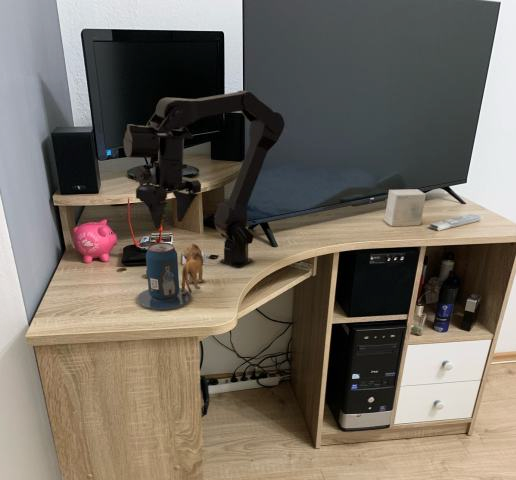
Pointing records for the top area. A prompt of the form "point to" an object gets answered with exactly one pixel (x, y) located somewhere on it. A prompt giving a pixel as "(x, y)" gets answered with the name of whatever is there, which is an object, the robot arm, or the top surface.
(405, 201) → the cosmetics box
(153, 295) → the soda can
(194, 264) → the lion figurine
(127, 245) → the top surface
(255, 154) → the robot arm
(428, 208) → the top surface
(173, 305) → the coaster
